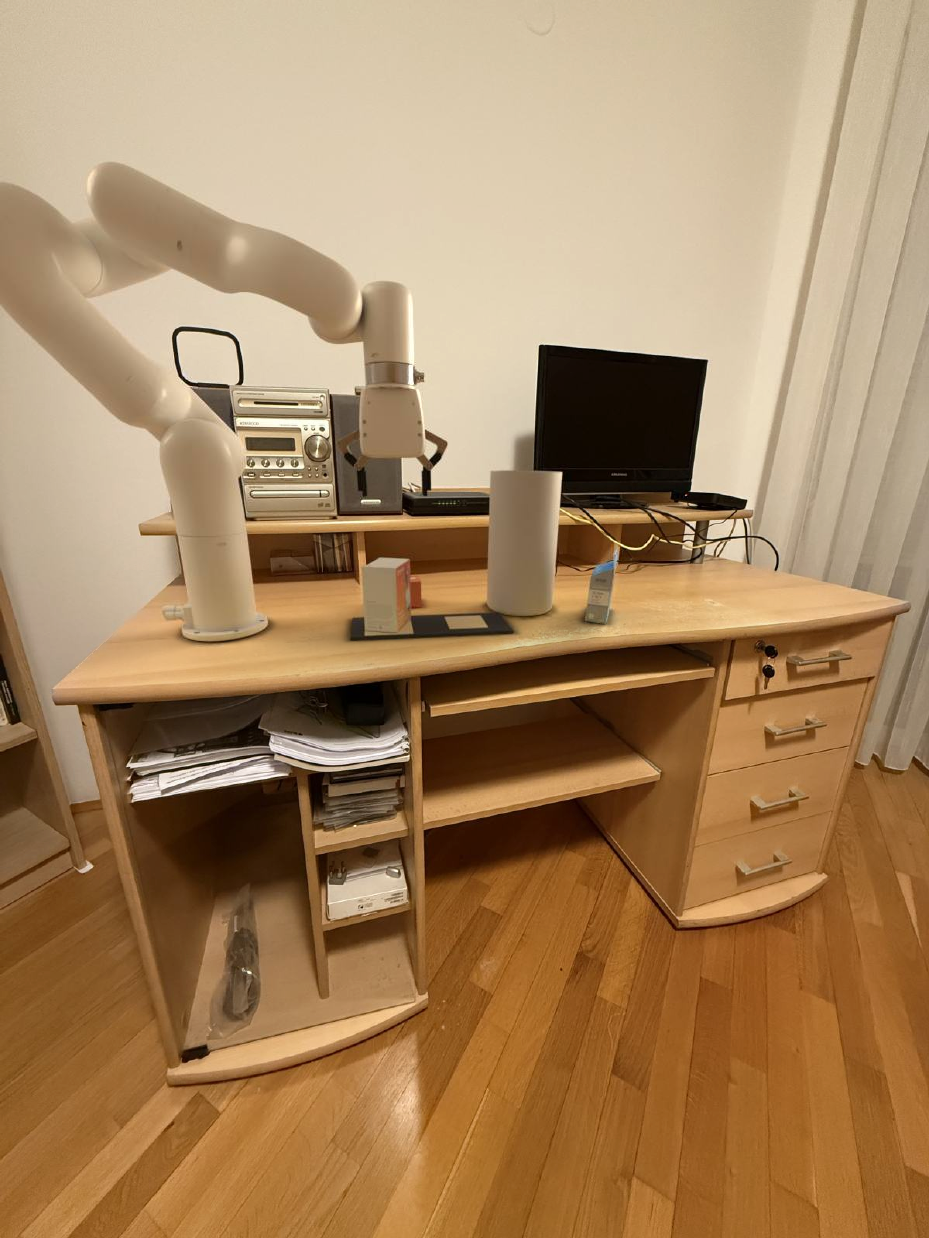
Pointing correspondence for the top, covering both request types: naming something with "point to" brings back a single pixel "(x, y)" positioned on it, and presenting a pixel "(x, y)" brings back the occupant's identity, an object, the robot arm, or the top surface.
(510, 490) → the cylinder vase
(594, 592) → the label tape box
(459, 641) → the top surface
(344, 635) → the top surface
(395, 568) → the small box
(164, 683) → the top surface
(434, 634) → the mat
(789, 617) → the top surface
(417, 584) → the red block
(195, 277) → the robot arm
